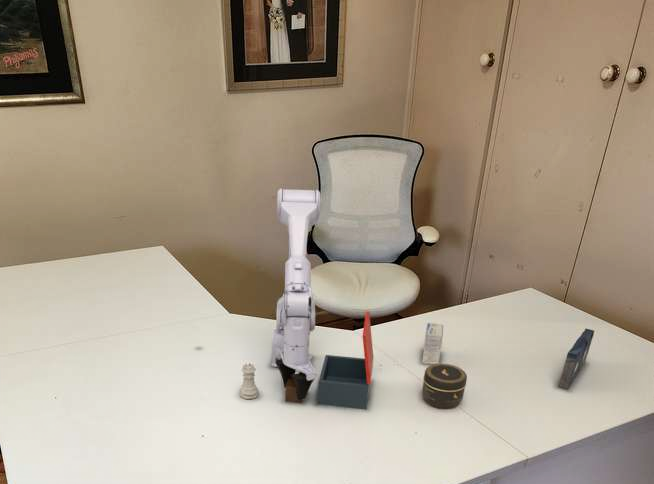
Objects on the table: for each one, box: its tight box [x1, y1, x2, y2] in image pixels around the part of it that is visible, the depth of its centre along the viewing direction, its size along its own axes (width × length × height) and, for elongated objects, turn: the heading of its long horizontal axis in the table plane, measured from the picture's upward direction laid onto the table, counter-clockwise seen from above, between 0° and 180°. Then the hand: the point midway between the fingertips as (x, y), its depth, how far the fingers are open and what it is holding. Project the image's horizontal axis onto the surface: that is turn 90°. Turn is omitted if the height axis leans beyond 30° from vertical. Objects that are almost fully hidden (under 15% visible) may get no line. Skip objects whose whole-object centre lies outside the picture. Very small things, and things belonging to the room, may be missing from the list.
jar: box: [421, 363, 468, 410], centre depth 149 cm, size 10×10×8 cm
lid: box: [362, 310, 374, 386], centre depth 145 cm, size 12×14×1 cm
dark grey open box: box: [317, 354, 370, 410], centre depth 150 cm, size 12×14×6 cm
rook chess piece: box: [239, 363, 259, 401], centre depth 147 cm, size 4×4×8 cm
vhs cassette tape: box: [558, 328, 595, 390], centre depth 161 cm, size 18×3×10 cm, turn 145°
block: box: [284, 379, 304, 404], centre depth 148 cm, size 4×4×4 cm
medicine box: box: [421, 322, 444, 365], centre depth 167 cm, size 8×4×9 cm, turn 168°
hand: (295, 393), depth 148 cm, fingers closed on block, 5 cm apart
